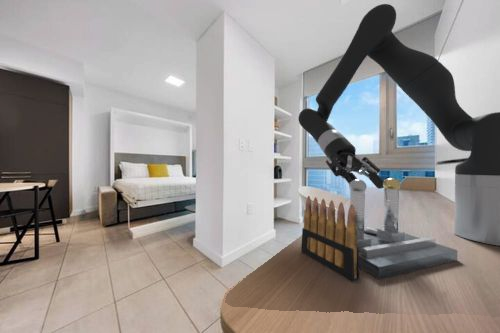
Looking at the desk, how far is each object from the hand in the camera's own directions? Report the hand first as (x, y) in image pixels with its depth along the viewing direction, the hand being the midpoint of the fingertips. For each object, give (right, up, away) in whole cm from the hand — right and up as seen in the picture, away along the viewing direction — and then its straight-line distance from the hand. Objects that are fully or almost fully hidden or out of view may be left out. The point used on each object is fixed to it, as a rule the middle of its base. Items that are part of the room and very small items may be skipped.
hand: (370, 186), depth 41 cm
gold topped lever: (+1, -11, -2) cm, 11 cm away
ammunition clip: (-16, -13, -10) cm, 23 cm away
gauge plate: (-1, -14, -5) cm, 14 cm away
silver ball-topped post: (-9, -11, -6) cm, 16 cm away
